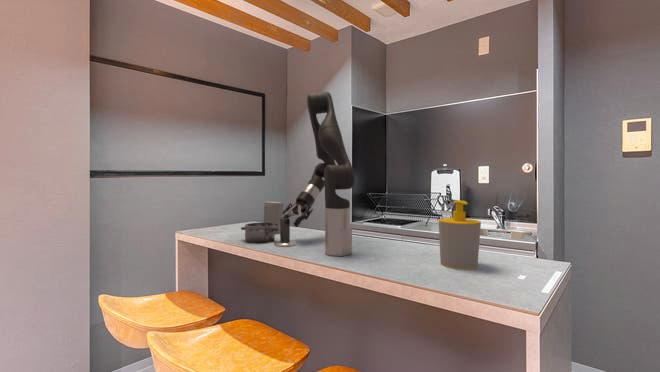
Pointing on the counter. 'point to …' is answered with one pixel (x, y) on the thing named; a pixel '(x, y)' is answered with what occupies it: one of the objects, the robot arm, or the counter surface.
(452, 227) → the soap bottle
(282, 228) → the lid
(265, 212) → the skincare box
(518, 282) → the counter surface
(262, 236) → the pot
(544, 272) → the counter surface
